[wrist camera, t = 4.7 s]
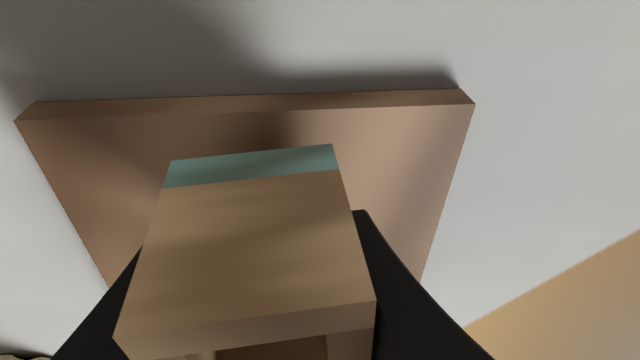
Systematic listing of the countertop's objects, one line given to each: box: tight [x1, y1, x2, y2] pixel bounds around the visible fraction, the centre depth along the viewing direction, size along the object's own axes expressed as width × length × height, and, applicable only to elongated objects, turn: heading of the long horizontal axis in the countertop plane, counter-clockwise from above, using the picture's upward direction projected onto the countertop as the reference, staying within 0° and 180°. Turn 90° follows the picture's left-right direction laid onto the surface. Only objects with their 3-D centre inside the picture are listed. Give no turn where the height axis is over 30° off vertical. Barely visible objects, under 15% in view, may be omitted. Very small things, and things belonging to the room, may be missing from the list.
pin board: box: [14, 88, 476, 288], centre depth 14 cm, size 14×12×5 cm
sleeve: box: [112, 143, 377, 360], centre depth 9 cm, size 4×4×5 cm
